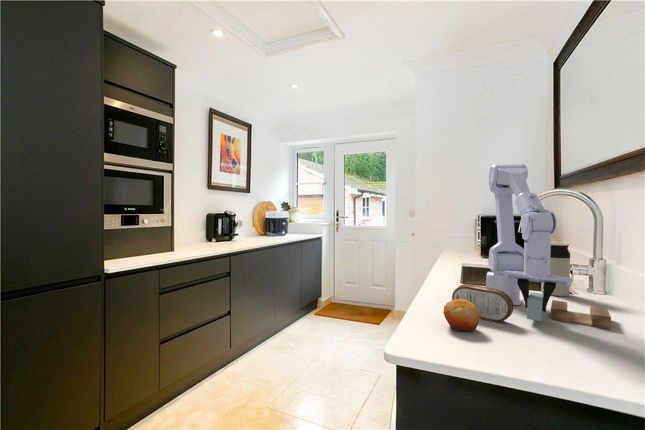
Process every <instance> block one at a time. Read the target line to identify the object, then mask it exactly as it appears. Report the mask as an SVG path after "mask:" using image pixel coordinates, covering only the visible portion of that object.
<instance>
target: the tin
mask: <svg viewBox="0 0 645 430" xmlns="http://www.w3.org/2000/svg"><path fill="white" fill-rule="evenodd" d="M454 299H467V300H468V301H470V302H471V303H473V304H474V305H476V306H477V308H478V311H479V313H480V318H479V319H482V320H486V321H490V322H494V323H495V322H496V323H500V322H501V323H502V322H504V321H506V320H507V319H508V318H510V317H511V316H512V315H513V313H514V309H515V308H514V305H513V302H512V300H511V298H510V297H509V296H508V295H507V294H506V293H505V292H503V291H501V290H499V289H494V288H488V287H486V286H480V285H476V284H470V283H465V284H461V285H459V286H458V287H457V288H455V289H454V290H453V292H452V295H451V300H454Z"/></svg>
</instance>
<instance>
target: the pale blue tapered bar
mask: <svg viewBox="0 0 645 430" xmlns="http://www.w3.org/2000/svg"><path fill="white" fill-rule="evenodd" d="M542 306H543V293H539V292H533V291H531V292H529V297H528V299H527V309H526V319H527V320H531V321H537V322H542V321H543V320H542V319H543V315H544V312H543V311H542Z"/></svg>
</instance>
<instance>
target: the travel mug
mask: <svg viewBox="0 0 645 430" xmlns="http://www.w3.org/2000/svg"><path fill="white" fill-rule="evenodd" d="M569 246H570V243H568V242H567V243H566V242H557V241H556V242H553V241H551V251H550V275H556V276H562V277H570V274H571V253H570V250H569ZM570 278H571V277H570ZM543 285H544V283H542V282H541V286H540V287H541V290H540V291H541V292H542V293H543ZM552 295H554V297H562V296H563V297H569V296H570V286H566V285H558V284H556V288H555V290H554V291H553V293H552V294H551V296H552Z"/></svg>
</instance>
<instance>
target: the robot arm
mask: <svg viewBox="0 0 645 430" xmlns="http://www.w3.org/2000/svg"><path fill="white" fill-rule="evenodd" d="M528 175H529V169H528V167H527V166H526V164H525V163H520V164H496V163H495V164H491V167H490V168H489V172H488V186H489V188H488V189H489V192H491V193H493V194H494V200H495V215H496V228H497V229H496V230H497V231H496V232H497V243H496V244H494V245H493V246H491V247H490V248H489V251H488V253H489V254H488V267H489V268H488V269H490V271H487V272H486V279H485V287H488V288H494V289H499V290H501V291H503V292H505V293H506V294H507V295H508V296H509V297H510V298H511V300H512V302H513V305H515V306H521V303H522V301H524V306H525V309H526V310H527V299H528V297H529V295H530V283H531V282H534V283H535V282H536V283H541V284H542V283H544V285H543V292H542V294H543V306H542V311H543V313H546V312H547V305H548V303H549V300H550V298H551V296H552V295H551V294H552V293H553V291H554V290H555V288H556V284H558V285H566V286H570V287H572V286H573V285H572V282H573V281H572V279H573V278H572V277H562V276H556V275H550V251H551V242H552V234H554V233H555V231H556V228H557V219H556V215H555V213H554V212H553V211H550V210H549V209H545V207H544V206H543V204H542V201H541V200H540V199H539V197H538V194H536V193H534V192H531V191H530V188H529V185H528V183H527V179H528ZM513 194H514V196H515V197H516V198H515V199H514V204H513ZM513 205H515V207H516V210H517V211H518V214H519V215H520V218H521V219H520V230H521V237H522V239H523V240H524V243H523V244H524V245H523V247H522V246H521V245H519V244H517V242H516V235H515V233H516V232H515V219H514V206H513ZM520 293H521V294H520ZM520 295H522V297H523V298H521V297H520Z"/></svg>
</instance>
